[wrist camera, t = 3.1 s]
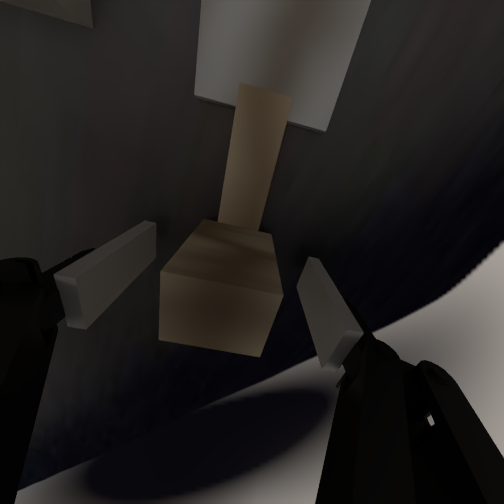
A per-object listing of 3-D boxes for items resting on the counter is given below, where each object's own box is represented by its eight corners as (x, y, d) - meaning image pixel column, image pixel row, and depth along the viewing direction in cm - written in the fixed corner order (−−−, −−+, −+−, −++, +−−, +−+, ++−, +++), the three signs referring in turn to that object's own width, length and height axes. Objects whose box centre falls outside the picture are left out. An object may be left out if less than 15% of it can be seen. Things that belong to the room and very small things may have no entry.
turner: (180, 305, 19) (132, 401, 12) (212, -52, 9) (22, -943, 2) (258, 319, 20) (259, 419, 13) (365, 1, 10) (703, -477, 2)
